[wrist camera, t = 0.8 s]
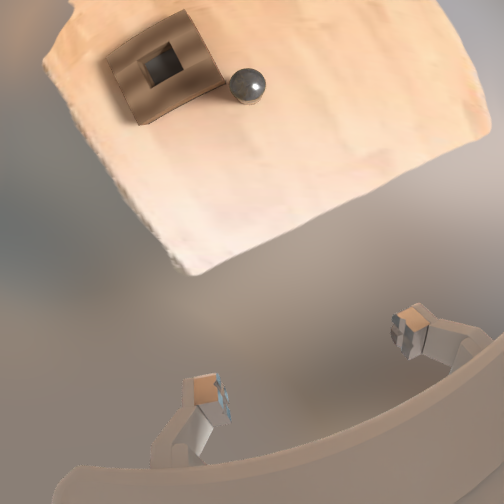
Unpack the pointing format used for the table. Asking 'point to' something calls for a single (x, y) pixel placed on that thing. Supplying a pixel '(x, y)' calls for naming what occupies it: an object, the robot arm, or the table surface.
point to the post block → (164, 68)
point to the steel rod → (247, 86)
